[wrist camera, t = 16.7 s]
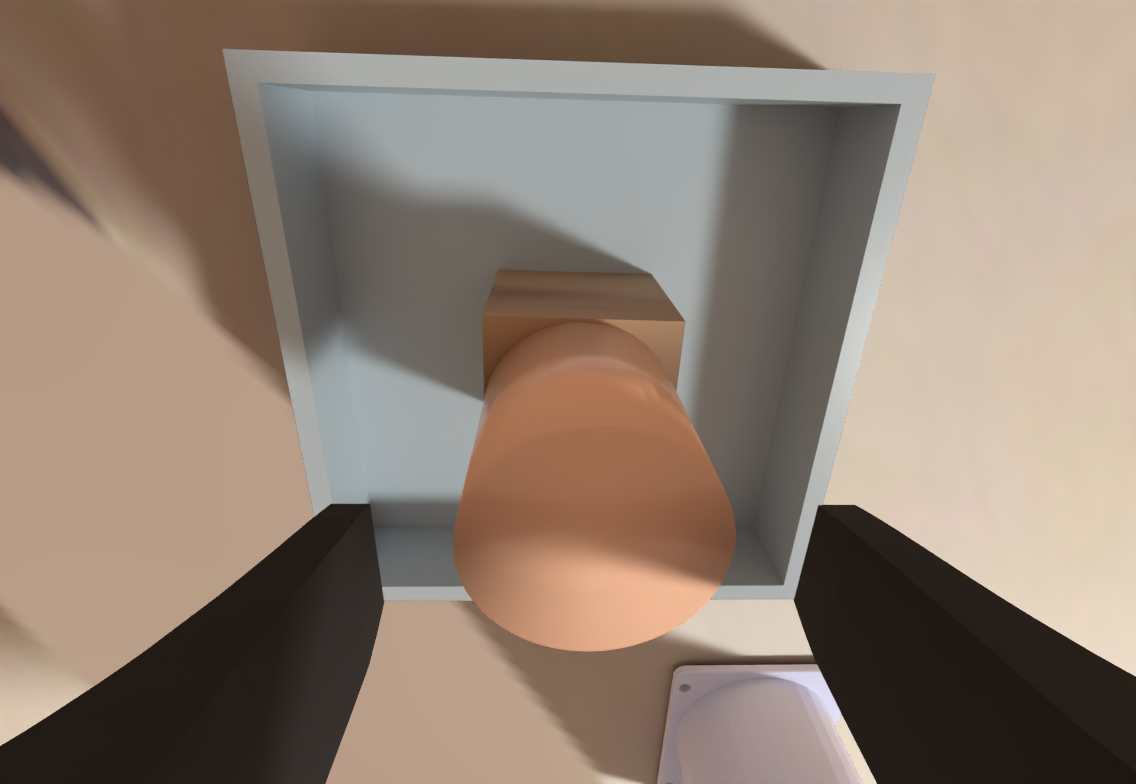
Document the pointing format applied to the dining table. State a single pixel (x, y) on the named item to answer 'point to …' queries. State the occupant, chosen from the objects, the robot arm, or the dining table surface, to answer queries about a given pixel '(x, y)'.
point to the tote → (569, 262)
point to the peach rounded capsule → (589, 496)
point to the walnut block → (580, 311)
